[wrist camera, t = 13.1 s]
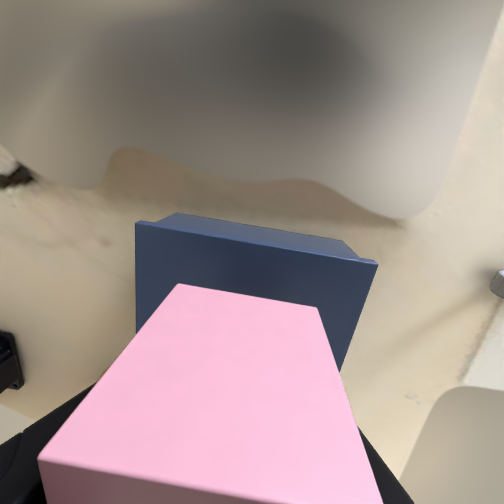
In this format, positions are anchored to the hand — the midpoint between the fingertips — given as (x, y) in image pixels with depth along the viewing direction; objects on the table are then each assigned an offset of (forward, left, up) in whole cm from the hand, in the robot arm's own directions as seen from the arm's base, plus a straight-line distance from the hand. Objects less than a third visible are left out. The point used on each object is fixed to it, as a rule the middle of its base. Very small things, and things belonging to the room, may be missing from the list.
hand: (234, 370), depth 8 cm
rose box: (0, 0, -1) cm, 1 cm away
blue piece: (0, -4, -11) cm, 11 cm away
